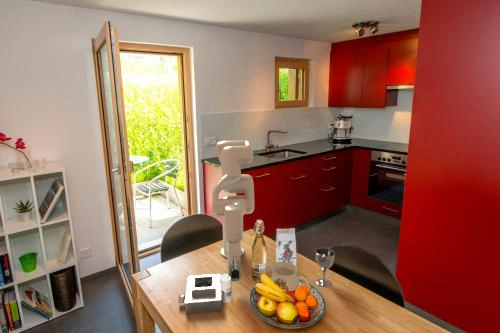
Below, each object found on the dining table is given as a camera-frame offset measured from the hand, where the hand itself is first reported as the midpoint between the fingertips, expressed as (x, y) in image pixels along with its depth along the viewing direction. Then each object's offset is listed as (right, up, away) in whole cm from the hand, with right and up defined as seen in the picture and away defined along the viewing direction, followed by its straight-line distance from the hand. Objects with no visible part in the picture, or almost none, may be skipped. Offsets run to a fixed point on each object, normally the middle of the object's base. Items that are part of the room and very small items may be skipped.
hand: (234, 273), depth 131 cm
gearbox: (-14, -10, -1) cm, 17 cm away
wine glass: (+39, -7, +9) cm, 41 cm away
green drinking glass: (0, -2, +1) cm, 2 cm away
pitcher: (+22, -10, -1) cm, 24 cm away
